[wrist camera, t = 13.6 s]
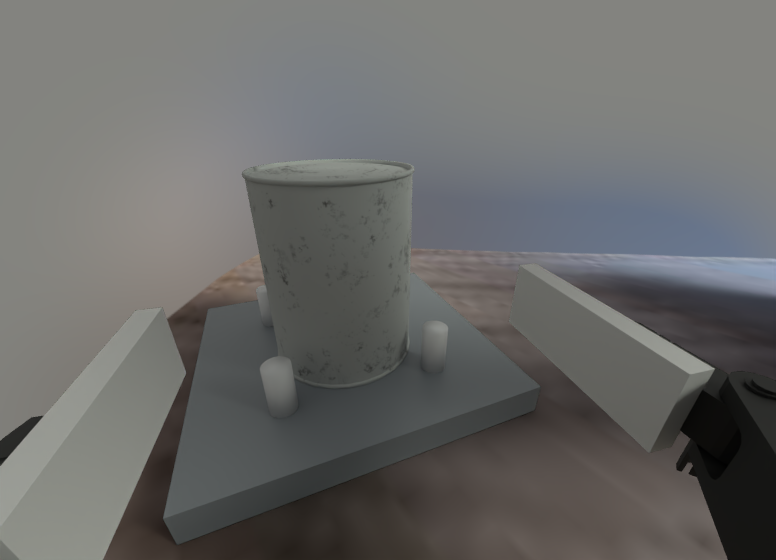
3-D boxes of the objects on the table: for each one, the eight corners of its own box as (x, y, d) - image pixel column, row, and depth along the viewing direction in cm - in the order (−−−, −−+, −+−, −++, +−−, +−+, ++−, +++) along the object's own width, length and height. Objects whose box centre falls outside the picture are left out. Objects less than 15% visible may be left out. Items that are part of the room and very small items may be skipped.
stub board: (413, 289, 36) (414, 246, 34) (534, 410, 21) (551, 346, 18) (213, 327, 29) (199, 278, 27) (177, 544, 14) (137, 472, 12)
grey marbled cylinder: (349, 297, 30) (340, 156, 25) (435, 338, 24) (447, 165, 19) (252, 345, 24) (211, 169, 18) (337, 415, 18) (312, 189, 13)
